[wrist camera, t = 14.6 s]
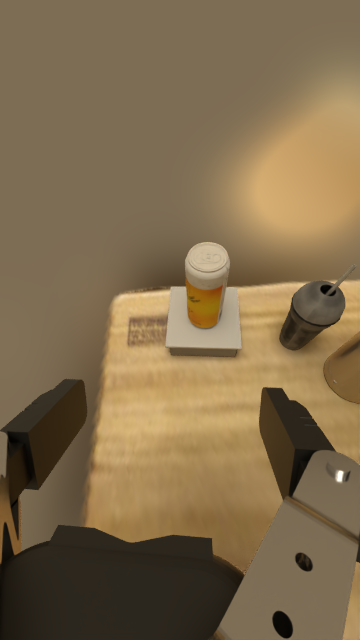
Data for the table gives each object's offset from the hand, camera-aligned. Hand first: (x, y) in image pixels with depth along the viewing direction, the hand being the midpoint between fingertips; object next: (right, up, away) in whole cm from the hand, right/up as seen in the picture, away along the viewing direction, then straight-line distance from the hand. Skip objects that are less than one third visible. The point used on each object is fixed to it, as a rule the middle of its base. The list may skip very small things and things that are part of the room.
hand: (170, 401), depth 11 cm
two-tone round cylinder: (+5, +4, +35) cm, 35 cm away
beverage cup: (+22, 0, +37) cm, 43 cm away
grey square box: (+5, +2, +39) cm, 39 cm away
